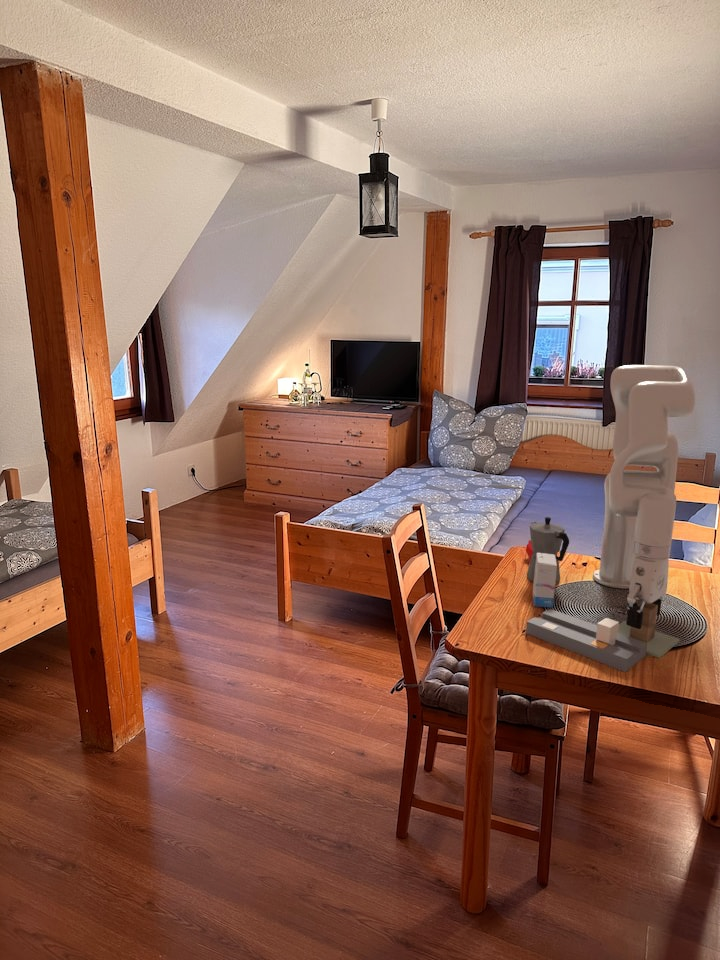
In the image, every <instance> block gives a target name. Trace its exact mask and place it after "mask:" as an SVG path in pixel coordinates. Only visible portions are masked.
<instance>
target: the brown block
mask: <svg viewBox="0 0 720 960" xmlns="http://www.w3.org/2000/svg"><path fill="white" fill-rule="evenodd" d="M636 603H637V604H638V606H639V604H640V602H638V601H636ZM657 610H658V605H656V604H653V603H651V604H647V602H645V604H644V606H643V609H642V611H641V612H643V618H642V627H641V629H637V628H634V627H631V628H630V636H629V637H631V638H634V639H637V640H640V641H643V642H645V643H648V642H649V641H650V640H651V639H653V638H654V634H655V631H656V627H657V626H656V624H657V617H658V616H657Z"/></svg>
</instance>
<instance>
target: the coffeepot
mask: <svg viewBox="0 0 720 960" xmlns="http://www.w3.org/2000/svg"><path fill="white" fill-rule="evenodd" d="M551 520H552V518H551V517H548V516H545V517H544V522H541V521H537V522H536V521H533V522H530V524H531V525H529V532H530V541H531V547H532V549H533V555H532V556H531V560H530V559H529V565H528V567H527V571H526V577H527V579H528V580H529V581H531V582H533V583H534V574H535V564H536V553H546V554H554V555H555V558H556V563H557V572H556V582H555V584H557V583H559V582H560V581H561V574H560V563H559V562H562V561H564V557H565V555H566V553H567V549H568V547H569V544H570V538H569V537H568V535H567V532H566V533H565V528H564V527H563V526H562V525H559V524H555V523H552V522H551ZM558 554H559V556H558Z"/></svg>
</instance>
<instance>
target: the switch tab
mask: <svg viewBox="0 0 720 960" xmlns="http://www.w3.org/2000/svg"><path fill="white" fill-rule="evenodd" d="M619 624H620V622H619V621H618V620H614V619H611V618H609V617H605V618H603V619H602V620H600V621H598V622H597V624H596V625H597V632H596V639H597V640H599V641H601V642H604V643H607V644H609V645H612V646H613V645H614V644H615V640H616V638H617V636H618V627H619Z"/></svg>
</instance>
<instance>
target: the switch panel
mask: <svg viewBox="0 0 720 960" xmlns="http://www.w3.org/2000/svg"><path fill="white" fill-rule="evenodd" d="M596 632H597V624H594V623H591V622H588V621H586V620H582V619H579V618H578V617H575V616H572V615H569V614H566V613H563V612H560V611H557V610H555V609H553V608H552V609H551V608H548V609H547V610H544V611H543V612H542V613H541V616H540V617H536V616H534V617H532V618H531V619H530V618H529V619H528V620H527V621H526V631H525V633H526V634H527V635H530V636H533V637H534V638H537V639H540V640H541V641H545V642H547V643H550V644H552V645H555V646H558V647H561V648H562V649H565V650H568V651H570V652H573V653H575V654H578V655H580V656H584V657H585V658H588V659H590V660H593V661H596V662H599V663H602V664H603V665H606V666H609V667H611V668H614V669H616V670H619V671H622V672H624V673H626V672H627V671H628V670H630V669H632V668H633V666H635V665H636V664H637V663H639V662H640V661H642V659H644V658H645V657H646V656H647V654H646V651H647V643H645V642H643V641H640V640H637V639H634V638H631V637H628V636H626V635H623V634H620V633H618V636H617V638H616V640H615V644H614V645H613V646H612V645H609V644H607V643H604V642H601V641H599V640H597V639H596Z"/></svg>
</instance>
